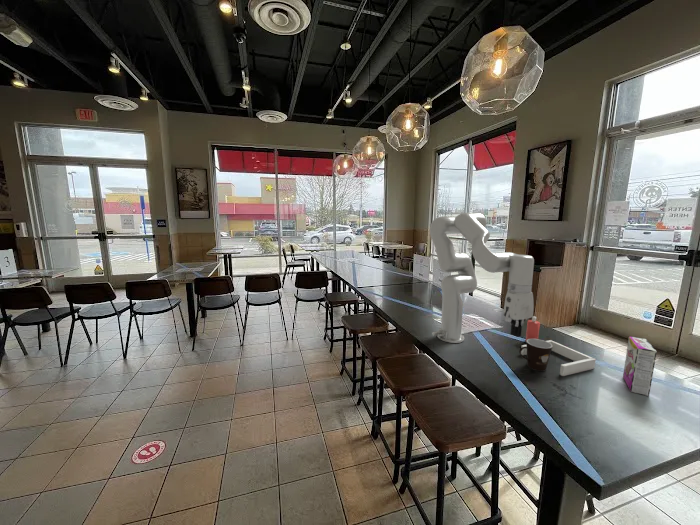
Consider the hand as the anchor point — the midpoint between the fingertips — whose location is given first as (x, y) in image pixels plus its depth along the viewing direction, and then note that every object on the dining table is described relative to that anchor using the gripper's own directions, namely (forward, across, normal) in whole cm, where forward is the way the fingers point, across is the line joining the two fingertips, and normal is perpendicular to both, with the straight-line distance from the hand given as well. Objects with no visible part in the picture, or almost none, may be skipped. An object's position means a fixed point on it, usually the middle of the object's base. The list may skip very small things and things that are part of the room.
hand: (515, 335), depth 111 cm
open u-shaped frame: (+15, +24, +1) cm, 28 cm away
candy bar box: (+16, +33, -21) cm, 42 cm away
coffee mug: (+15, +11, +1) cm, 19 cm away
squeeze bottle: (+15, +31, +18) cm, 39 cm away
